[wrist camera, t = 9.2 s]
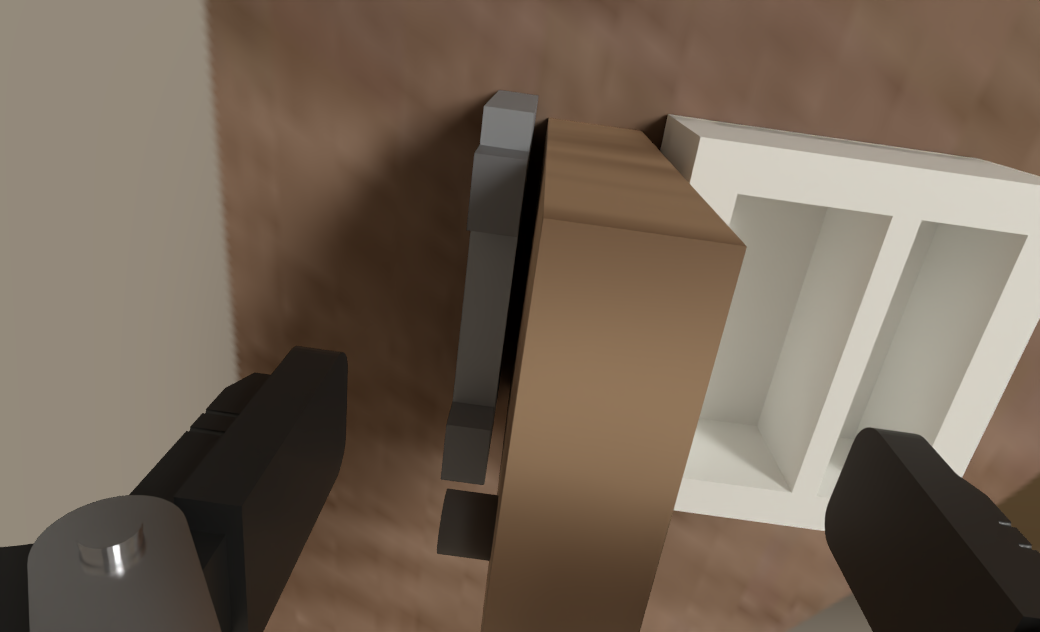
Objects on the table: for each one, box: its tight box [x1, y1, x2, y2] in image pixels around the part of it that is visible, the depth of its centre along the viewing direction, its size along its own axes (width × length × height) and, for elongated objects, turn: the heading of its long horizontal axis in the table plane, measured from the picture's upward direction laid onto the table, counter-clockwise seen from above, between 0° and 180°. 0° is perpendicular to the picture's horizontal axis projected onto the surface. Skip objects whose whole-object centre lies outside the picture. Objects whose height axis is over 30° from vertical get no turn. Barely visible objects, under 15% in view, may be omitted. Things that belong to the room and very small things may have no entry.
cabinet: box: [441, 90, 1040, 531], centre depth 16 cm, size 9×12×5 cm
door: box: [437, 118, 747, 632], centre depth 14 cm, size 8×3×10 cm, turn 173°
